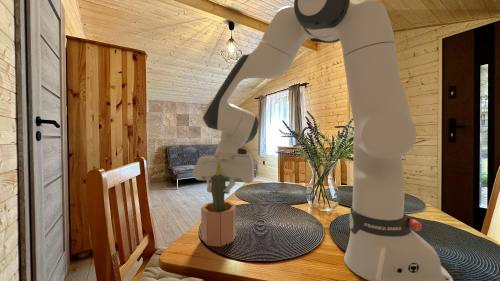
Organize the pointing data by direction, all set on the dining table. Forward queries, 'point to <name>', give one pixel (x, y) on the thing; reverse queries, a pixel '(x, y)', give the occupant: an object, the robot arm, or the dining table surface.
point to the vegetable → (218, 190)
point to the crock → (218, 224)
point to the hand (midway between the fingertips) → (217, 192)
